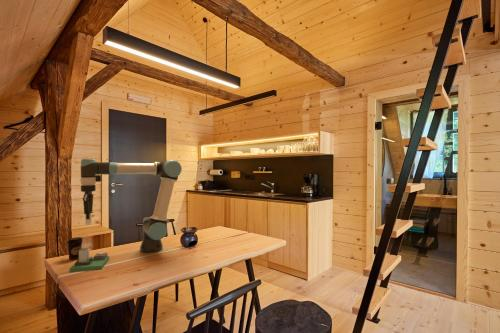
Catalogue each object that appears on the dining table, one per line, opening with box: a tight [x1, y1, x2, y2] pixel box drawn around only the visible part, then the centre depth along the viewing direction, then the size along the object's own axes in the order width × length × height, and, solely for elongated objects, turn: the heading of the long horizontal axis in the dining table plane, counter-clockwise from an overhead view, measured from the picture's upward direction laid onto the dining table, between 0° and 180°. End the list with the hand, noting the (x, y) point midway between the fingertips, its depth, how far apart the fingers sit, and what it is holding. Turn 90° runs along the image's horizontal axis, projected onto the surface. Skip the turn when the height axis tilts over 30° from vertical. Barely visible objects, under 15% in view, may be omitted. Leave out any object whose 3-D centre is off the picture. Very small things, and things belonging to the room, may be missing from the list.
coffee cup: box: [66, 236, 84, 261], centre depth 170 cm, size 9×8×13 cm
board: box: [69, 252, 110, 273], centre depth 159 cm, size 16×18×5 cm
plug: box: [78, 247, 90, 263], centre depth 156 cm, size 4×4×8 cm
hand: (88, 224), depth 159 cm, fingers closed
